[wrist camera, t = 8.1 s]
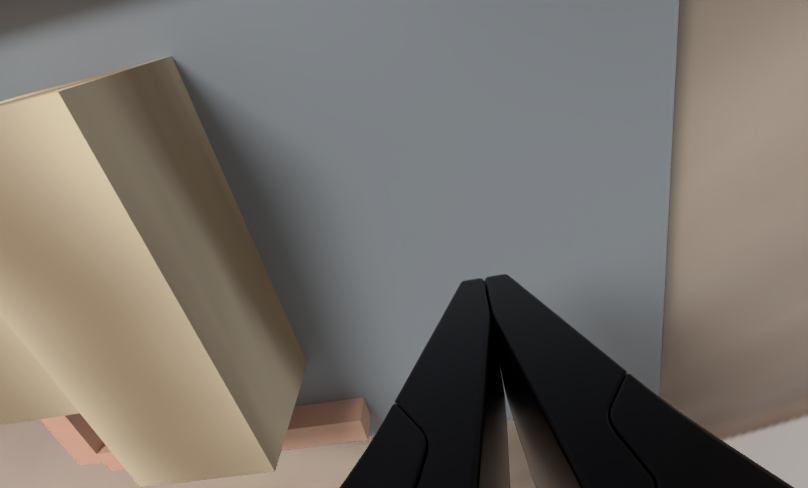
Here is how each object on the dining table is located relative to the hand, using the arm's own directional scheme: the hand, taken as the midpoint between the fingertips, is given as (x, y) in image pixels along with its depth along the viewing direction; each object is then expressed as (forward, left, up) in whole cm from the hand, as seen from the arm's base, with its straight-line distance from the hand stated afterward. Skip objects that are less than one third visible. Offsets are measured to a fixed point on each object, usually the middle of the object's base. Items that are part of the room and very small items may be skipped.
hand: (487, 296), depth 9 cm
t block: (+10, 0, -5) cm, 11 cm away
